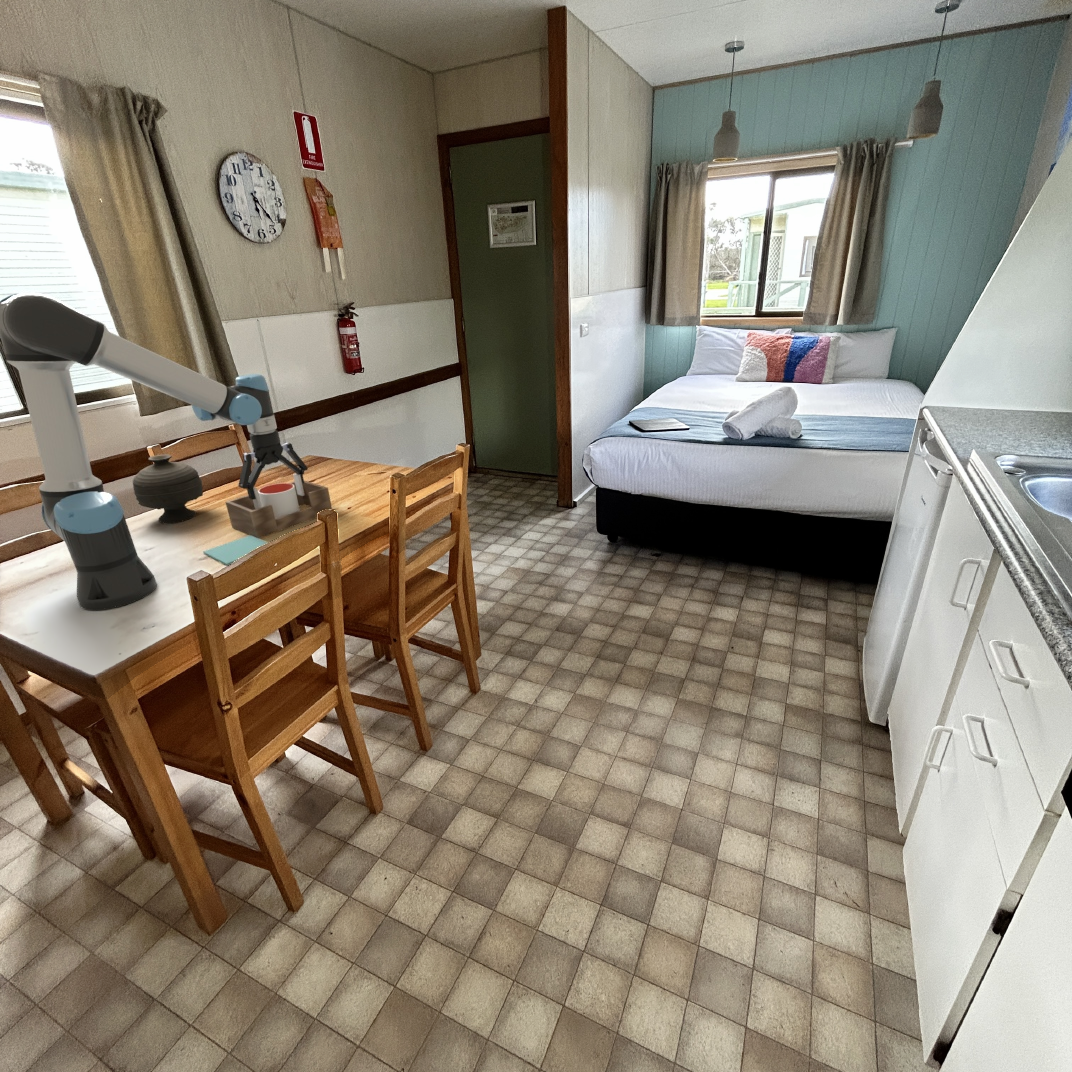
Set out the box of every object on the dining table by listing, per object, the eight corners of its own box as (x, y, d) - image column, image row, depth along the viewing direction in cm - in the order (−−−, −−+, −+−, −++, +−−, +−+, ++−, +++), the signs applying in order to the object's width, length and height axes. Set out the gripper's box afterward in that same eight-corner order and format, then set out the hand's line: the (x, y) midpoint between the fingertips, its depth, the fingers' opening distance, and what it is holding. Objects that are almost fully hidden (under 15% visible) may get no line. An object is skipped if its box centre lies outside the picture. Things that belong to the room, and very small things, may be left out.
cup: (288, 526, 170) (281, 494, 166) (258, 525, 172) (250, 493, 168) (307, 514, 179) (301, 483, 175) (278, 513, 181) (271, 482, 177)
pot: (225, 508, 185) (201, 448, 176) (172, 533, 171) (144, 470, 162) (189, 502, 193) (166, 444, 184) (136, 526, 179) (108, 465, 170)
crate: (258, 538, 163) (251, 512, 160) (232, 527, 172) (225, 501, 168) (332, 512, 180) (327, 487, 177) (305, 503, 189) (300, 479, 186)
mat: (227, 565, 148) (226, 563, 147) (203, 553, 155) (203, 551, 155) (275, 547, 157) (274, 545, 157) (250, 536, 164) (250, 535, 164)
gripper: (225, 443, 154) (246, 517, 163) (310, 423, 172) (324, 491, 180) (212, 440, 158) (233, 512, 167) (296, 420, 176) (310, 487, 185)
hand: (280, 501), depth 174 cm, fingers open, 13 cm apart
